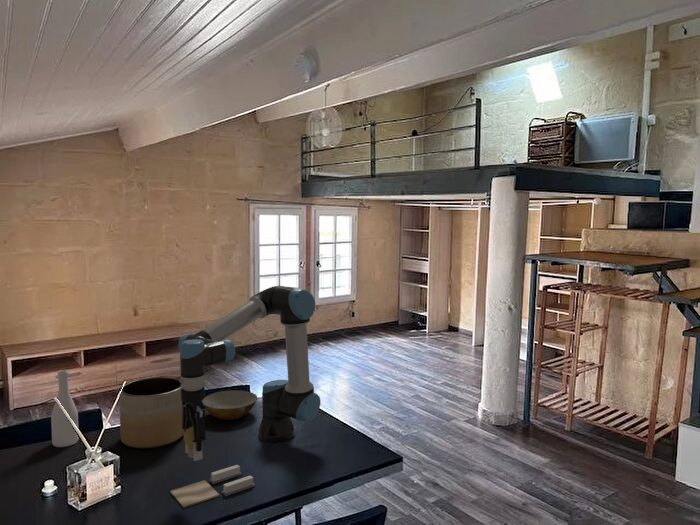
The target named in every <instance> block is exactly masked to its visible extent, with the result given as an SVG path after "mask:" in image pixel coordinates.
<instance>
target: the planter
mask: <svg viewBox="0 0 700 525" xmlns="http://www.w3.org/2000/svg"><path fill="white" fill-rule="evenodd" d="M180 380H181V379H179V378H176V377H175V378H174V377H167V376H158V377H156V376H155V377H147V378H140V379H136V380H133V381H130V382H127V383H125V384H124V385H125V386H124V387H123V385H122V386H120V388H119V392H120V391H121V389H122V387H123V389H122V392H121V394H120V393H119V429H120V430H119V431H120V432H119V434H120V435H119V436H120V441H121V443H123V444H124V445H125V446H127V447H129V448H134V449H142V450H143V449H144V450H145V449H146V450H147V449H155V448H160V447H165V446H168V445H170V444H173V443H175V442H177V441H178V440H180V439H181V437H184V433H185V432H184V429H182V400H181V389H182V388H181V383H180Z"/></svg>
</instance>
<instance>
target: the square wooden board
mask: <svg viewBox="0 0 700 525" xmlns="http://www.w3.org/2000/svg"><path fill="white" fill-rule="evenodd" d="M169 492H170V494H171V496H173V498H174V499H175V500H176V501H177V502H178V503H179V505H180V506H181V507H182V508H183V509H187V508H189V507H192V506H194V505H198V504H201V503H203V502H206V501H209V500H211V499H212V500H213V499H216V498H218V497H220V494H219V492H217V491H216V490H215V488H213V487H212V486H211V484H209V483H208V481H206V480H205V479H204V480H201V481H197V482H194V483H191V484H188V485H184V486H182V487H179V488H175V489H172V490H170V491H169Z"/></svg>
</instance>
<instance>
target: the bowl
mask: <svg viewBox="0 0 700 525" xmlns="http://www.w3.org/2000/svg"><path fill="white" fill-rule="evenodd" d="M257 400H258V396H257V395H256V394H255V393H254V392H251V391H247V390H237V389H236V390H235V389H233V390H232V389H231V390H222V391H217V392H214V393H210V394H208V395H205V398H204V399H203V400H202V401H201V403H202V405H203V407H204V410H205V411H207V412H208V414H210V415H211V416H213V417H215V418H217V419H220V420H222V421H235V420H238V419H240V418H241V417H243V416H245V415H246V414H248V413H249V412H250V411H252V409H253V407H254V406H255V404H256V403H257ZM234 419H235V420H234Z"/></svg>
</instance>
